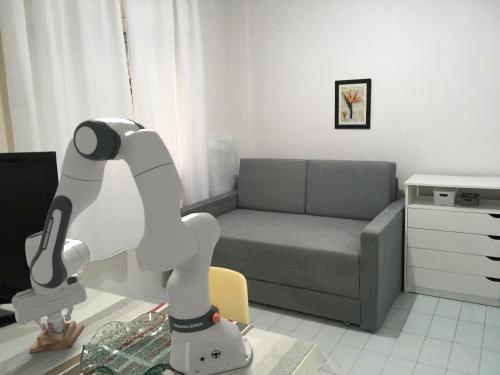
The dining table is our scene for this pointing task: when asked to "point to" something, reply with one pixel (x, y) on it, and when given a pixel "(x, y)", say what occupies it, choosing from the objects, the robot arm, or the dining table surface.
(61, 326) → the pill bottle
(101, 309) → the dining table surface
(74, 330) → the brown square wooden holder
